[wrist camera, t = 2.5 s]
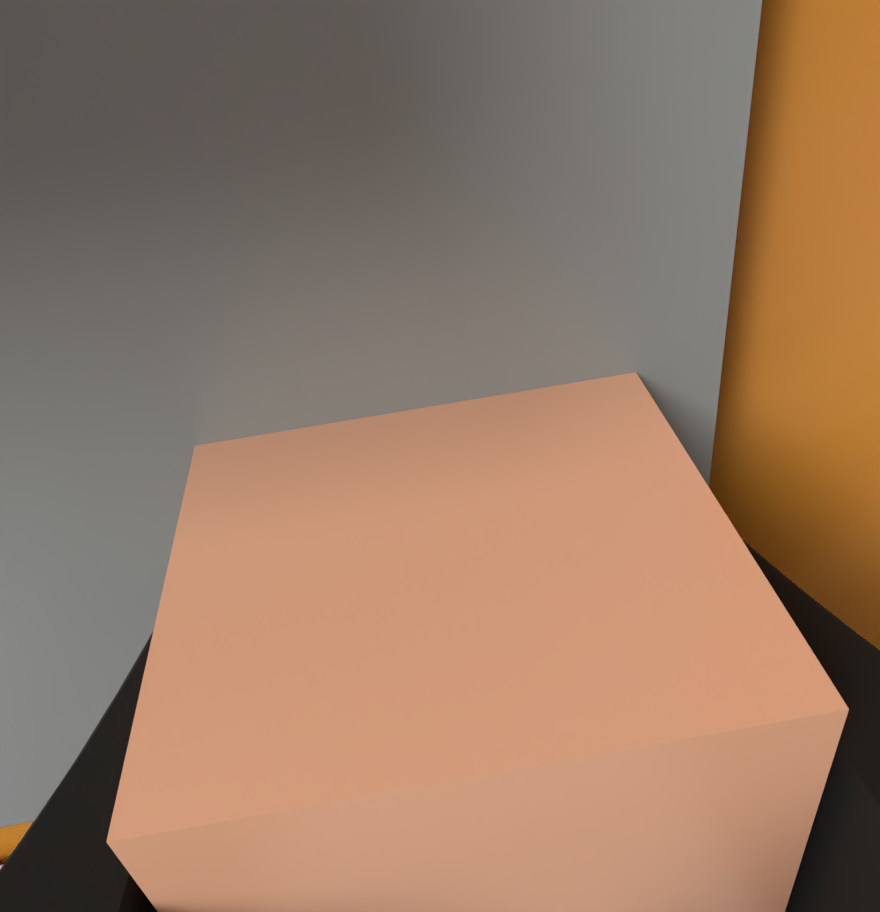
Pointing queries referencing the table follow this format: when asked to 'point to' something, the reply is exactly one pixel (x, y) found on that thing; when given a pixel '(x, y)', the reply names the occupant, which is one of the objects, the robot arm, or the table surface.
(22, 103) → the plate
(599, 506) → the orange brick
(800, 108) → the table surface
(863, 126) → the table surface
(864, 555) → the table surface
